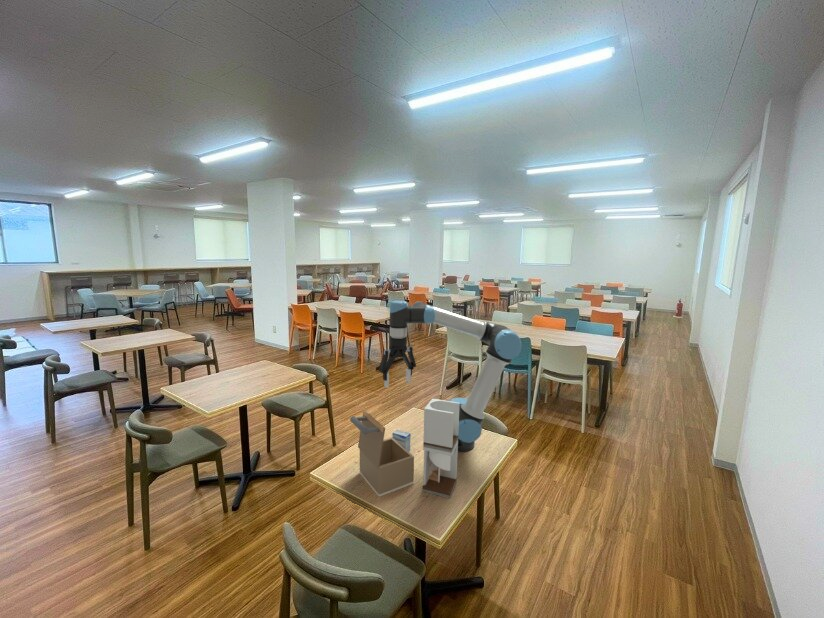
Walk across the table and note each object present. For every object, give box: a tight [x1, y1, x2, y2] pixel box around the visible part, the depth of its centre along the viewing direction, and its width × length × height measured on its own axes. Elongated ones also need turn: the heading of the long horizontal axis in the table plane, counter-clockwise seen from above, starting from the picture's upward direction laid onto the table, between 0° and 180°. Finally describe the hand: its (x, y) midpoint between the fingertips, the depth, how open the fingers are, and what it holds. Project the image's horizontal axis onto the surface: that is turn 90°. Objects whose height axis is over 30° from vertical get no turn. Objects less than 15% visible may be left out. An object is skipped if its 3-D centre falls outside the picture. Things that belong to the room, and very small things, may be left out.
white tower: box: [421, 398, 460, 499], centre depth 144 cm, size 11×11×35 cm
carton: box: [359, 437, 415, 498], centre depth 151 cm, size 16×18×12 cm
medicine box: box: [391, 429, 412, 452], centre depth 173 cm, size 8×4×9 cm, turn 62°
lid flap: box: [349, 410, 386, 469], centre depth 143 cm, size 16×18×8 cm
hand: (397, 384), depth 160 cm, fingers open, 10 cm apart
